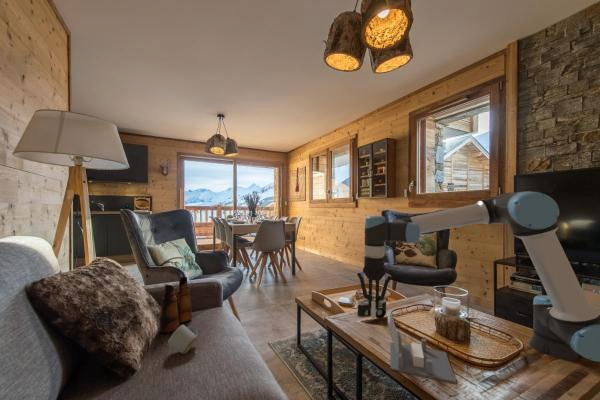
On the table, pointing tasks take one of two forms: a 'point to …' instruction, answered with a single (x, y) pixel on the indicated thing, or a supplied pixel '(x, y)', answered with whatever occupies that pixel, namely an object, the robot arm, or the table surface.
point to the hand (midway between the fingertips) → (373, 316)
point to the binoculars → (175, 307)
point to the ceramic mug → (183, 339)
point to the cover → (393, 332)
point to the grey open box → (433, 362)
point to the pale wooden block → (417, 355)
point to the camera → (366, 311)
